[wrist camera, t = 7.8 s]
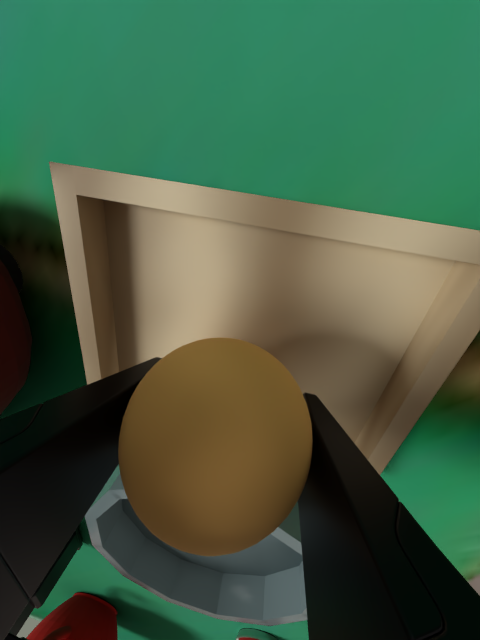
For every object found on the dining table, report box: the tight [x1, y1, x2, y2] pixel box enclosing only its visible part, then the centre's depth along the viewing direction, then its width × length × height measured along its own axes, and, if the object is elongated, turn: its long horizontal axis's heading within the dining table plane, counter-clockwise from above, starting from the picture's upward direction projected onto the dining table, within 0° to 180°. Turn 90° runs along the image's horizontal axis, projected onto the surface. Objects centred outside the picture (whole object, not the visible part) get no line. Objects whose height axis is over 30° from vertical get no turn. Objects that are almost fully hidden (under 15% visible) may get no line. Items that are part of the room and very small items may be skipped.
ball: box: [118, 338, 313, 556], centre depth 6 cm, size 5×5×5 cm
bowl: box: [85, 465, 307, 626], centre depth 15 cm, size 16×16×3 cm
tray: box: [49, 162, 480, 475], centre depth 10 cm, size 14×12×2 cm
